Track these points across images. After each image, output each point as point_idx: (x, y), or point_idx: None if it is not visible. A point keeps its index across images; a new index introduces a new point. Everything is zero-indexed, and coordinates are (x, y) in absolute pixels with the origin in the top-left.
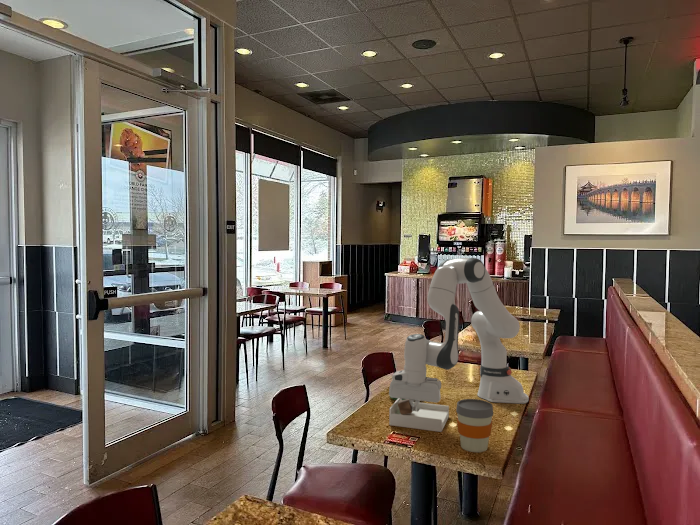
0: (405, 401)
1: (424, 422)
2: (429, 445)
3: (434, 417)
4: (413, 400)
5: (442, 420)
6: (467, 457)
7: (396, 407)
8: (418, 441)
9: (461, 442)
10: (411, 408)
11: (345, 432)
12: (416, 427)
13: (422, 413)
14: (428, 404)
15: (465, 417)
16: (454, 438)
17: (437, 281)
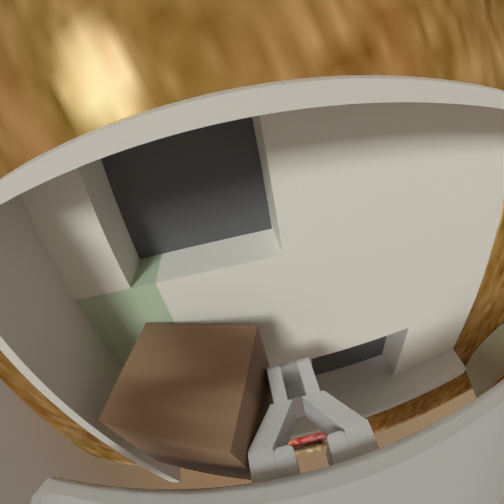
0: (212, 469)
1: (376, 388)
2: (385, 413)
3: (435, 293)
4: (295, 457)
5: (468, 304)
6: (460, 389)
7: (105, 385)
8: None
9: (470, 381)
10: (267, 398)
11: (114, 454)
12: (323, 375)
13: (341, 275)
14: (399, 100)
15: None
16: (464, 341)
17: None
